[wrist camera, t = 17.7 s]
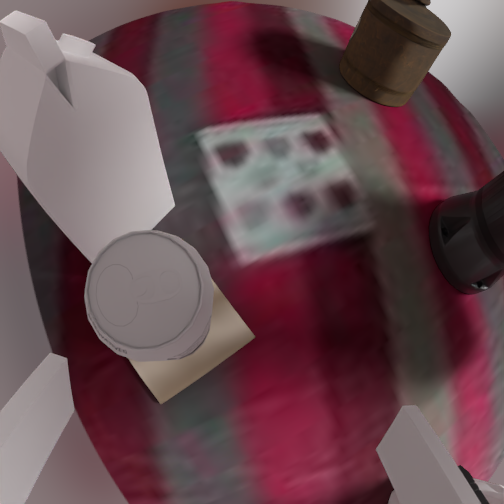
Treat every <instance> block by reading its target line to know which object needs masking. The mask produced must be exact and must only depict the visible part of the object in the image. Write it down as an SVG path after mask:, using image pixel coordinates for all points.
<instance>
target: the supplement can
mask: <svg viewBox="0 0 504 504" xmlns="http://www.w3.org/2000/svg"><path fill="white" fill-rule="evenodd" d="M213 296H214V287H213V284H212V280H211V276H210V273H209V269H208V266H207V265H206V263H205V262H204V261H203V259H202V258H201V256H200V255H199V253H198V252H197V251H196V249H195V248H194V247H192V246H191V245H189V244H188V243H186V242H185V241H184V240H182V239H181V238H179V237H178V236H175V235H172V234H168V233H164V232H161V231H157V230H144V231H131V232H129V233H126V234H124V235H122V236H119V237H117V238H115V239H113V240H112V241H111V242H109V243H108V244H107V245H106V246H105V247H104V248H103V249H102V250H101V251H100V252H99V253H98V254H97V256H96V257H95V259H94V261H93V263H92V265H91V267H90V268H89V270H88V275H87V280H86V286H85V295H84V298H85V305H86V311H87V316H88V320H89V322H90V324H91V325H92V327H93V329H94V331H95V333H96V334H97V336H98V338H99V339H100V340H101V341H102V342H103V343H104V344H106V345H107V346H108V347H109V348H110V349H112V350H113V351H114V352H115V353H116V354H118V355H121V356H124V357H127V358H130V359H132V360H135V361H138V362H147V361H168V360H180V359H182V358H185V357H187V356H189V355H192V354H194V353H195V352H196V351H197V350H198V349H199V348H200V347H201V346H202V345H203V344H204V342H205V339H206V337H207V335H208V333H209V331H210V324H211V317H212V307H213Z"/></svg>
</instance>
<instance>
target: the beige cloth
mask: <svg viewBox="0 0 504 504" xmlns="http://www.w3.org/2000/svg"><path fill="white" fill-rule="evenodd" d="M182 240H183V239H182ZM211 280H212V279H211ZM212 284H213V287H214V296H213V307H212V317H211V324H210V331H209V333H208V335H207V337H206V339H205V342H204V344H203V345H202V346H201V347H200V348H199V349H198V350H197V351H196V352H195V353H194V354H192V355H189V356H187V357H185V358H182V359H180V360H168V361H147V362H138V361H135V360H132V359H130V358H128V359H129V361H130V362H131V364H132V365H133V367H134V368H135V369H136V371H137V372H138V374H139V375H140V377H141V378H142V379H143V381H144V382H145V384H146V385H147V386H148V388H149V389H150V391H151V392H152V393H153V395H154V396H155V397H156V399H157V400H158V401H159V403H160V404H162V403H164V402H165V401H167V400H168V399H170V398H171V397H173V396H174V395H176V394H177V393H179V392H180V391H182V390H183V389H185V388H186V387H187V386H189V385H190V384H192V383H193V382H195V381H196V380H197V379H199V378H200V377H202V376H203V375H205V374H206V373H207V372H209V371H210V370H212V369H213V368H214V367H216V366H217V365H219V364H220V363H221V362H223V361H224V360H225V359H227V358H228V357H230V356H231V355H232V354H234V353H235V352H236V351H238V350H239V349H240V348H242V347H243V346H244V345H246V344H247V343H248V342H250V341H251V340H252V339H254V338H255V336H254V334H253V333H252V332H251V330H250V329H249V328H248V327H247V325H246V324H245V323H244V321H243V320H242V319H241V317H240V316H239V315H238V313H237V312H236V311H235V310H234V308H233V307H232V306H231V304H230V303H229V302H228V300H227V299H226V298H225V296H224V295H223V294H222V292H221V291H220V290H219V288H218V287H217V285H216V284H215V283H214V281H213V280H212Z"/></svg>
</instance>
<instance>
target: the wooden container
mask: <svg viewBox="0 0 504 504" xmlns="http://www.w3.org/2000/svg"><path fill="white" fill-rule="evenodd" d="M427 5H430V0H368V3H367V5H366V7H365V9H364V11H363V13H362V15H361V17H360V19H359V22H358V24H357V25H356V27H355V30H354V32H353V34H352V36H351V38H350V40H349V43H348V45H347V47H346V50H345V52H344V54H343V57H342V59H341V62H340V65H339V68H340V71H341V74H342V75H343V77H344V79H345V80H346V81H347V82H348V83H349V84H350V85H351V86H352V87H353V88H354V89H355V90H357V91H358V92H359V93H361V94H362V95H364V96H365V97H367V98H369V99H371V100H373V101H375V102H377V103H380V104H383V105H387V106H393V107H398V106H402V105H404V104H405V103H406V102H407V101H408V100H409V98H410V97H411V96H412V94H413V93H414V91H415V90H416V89H417V87H418V86H419V84H420V83H421V81H422V80H423V78H424V77H425V75H426V74H427V72H428V71H429V69H430V67H431V66H432V64H433V63H434V61H435V59H436V58H437V56H438V55H439V53H440V52H441V50H442V48H443V47H444V46H445V45H446V43H447V42H448V40H449V38H450V36H451V32H450V30H449V29H448V27H447V26H446V25H445V24H444V22H442V20H441V19H439V18H438V17H437V16H436V15H435V14H433V13H432V12H431V11H430V10H428V9H427V8H426V6H427Z"/></svg>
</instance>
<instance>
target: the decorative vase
mask: <svg viewBox="0 0 504 504" xmlns="http://www.w3.org/2000/svg"><path fill="white" fill-rule="evenodd" d="M473 479H474V481H475V483H476V484H477V485H478V487H479V490H481V491H482V493H483V495H484V496H485V498H486V499H487V501H488V502H489V504H504V486H502V485H499V484H494V483H490V482H486V481H482V480H478V479H475V478H473ZM388 504H400V501H399V499H398V497H397V495H396V492H395V490H393V491H392V493H391V496H390V498H389V501H388Z"/></svg>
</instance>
